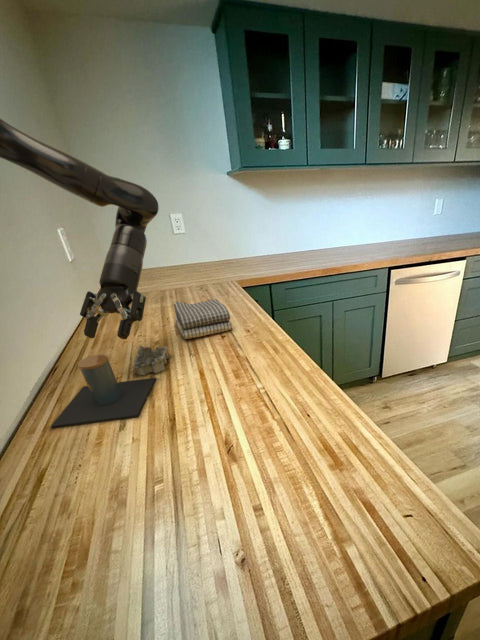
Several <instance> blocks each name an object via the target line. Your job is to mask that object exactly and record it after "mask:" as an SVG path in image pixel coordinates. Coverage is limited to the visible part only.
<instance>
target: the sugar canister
mask: <svg viewBox="0 0 480 640" xmlns="http://www.w3.org/2000/svg"><path fill="white" fill-rule="evenodd" d="M77 368H78V369H79V370H80V372H81V375H82V376H83V378H84V381H85V383H86V386H88V387H89V389H90V391H91V393H92V396H93V398H94V400H95V402H96V403H97V404H98V405H107V404H110V403H113V402H115V401H117V400H118V399H120V398H121V396H122V392H121V390H120V387H119V385H118V382H119V381H118V380H117V378H116V376H115V373H114V371H113V368H112V366H111V363H110V361H109V357H108V356H107V354H101V353H100V354H94V355H90V356H87V357H84V358H83V359H81V360H80V361H79V362H77Z"/></svg>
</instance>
